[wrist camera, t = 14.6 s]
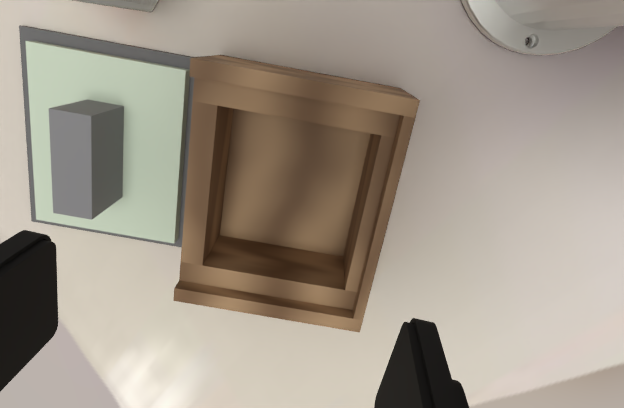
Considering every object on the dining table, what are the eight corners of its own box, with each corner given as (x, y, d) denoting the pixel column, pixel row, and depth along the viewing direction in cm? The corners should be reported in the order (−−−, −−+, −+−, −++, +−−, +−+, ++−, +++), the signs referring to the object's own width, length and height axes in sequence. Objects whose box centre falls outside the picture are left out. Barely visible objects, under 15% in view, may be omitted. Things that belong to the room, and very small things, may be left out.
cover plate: (44, 214, 35) (-6, 244, 30) (34, 40, 30) (-26, 40, 25) (178, 238, 35) (152, 271, 30) (190, 69, 30) (161, 74, 25)
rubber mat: (23, 25, 30) (19, 25, 30) (206, 59, 30) (204, 59, 30) (34, 219, 35) (31, 221, 35) (190, 246, 36) (189, 248, 35)
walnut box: (202, 253, 36) (173, 300, 29) (220, 54, 30) (190, 57, 24) (354, 280, 36) (359, 332, 30) (400, 88, 31) (419, 100, 24)
